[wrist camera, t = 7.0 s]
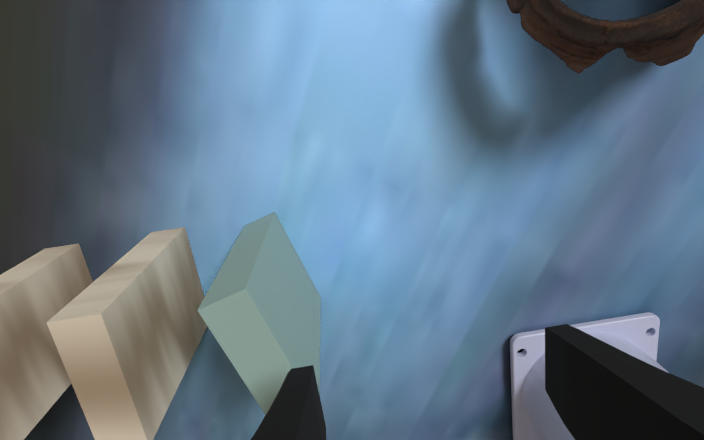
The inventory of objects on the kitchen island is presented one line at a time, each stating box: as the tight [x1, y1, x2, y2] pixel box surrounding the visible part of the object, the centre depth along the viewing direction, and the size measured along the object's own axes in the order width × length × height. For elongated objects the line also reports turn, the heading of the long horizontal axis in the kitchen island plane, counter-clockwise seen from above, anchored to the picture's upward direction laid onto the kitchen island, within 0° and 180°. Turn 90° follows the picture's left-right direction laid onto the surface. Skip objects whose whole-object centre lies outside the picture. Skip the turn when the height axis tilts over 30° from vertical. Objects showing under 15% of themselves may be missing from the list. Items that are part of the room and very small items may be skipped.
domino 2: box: [46, 227, 207, 440], centre depth 17 cm, size 5×2×8 cm, turn 8°
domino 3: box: [197, 212, 321, 415], centre depth 17 cm, size 5×2×8 cm, turn 24°
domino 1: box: [0, 244, 93, 440], centre depth 17 cm, size 5×2×8 cm, turn 8°
